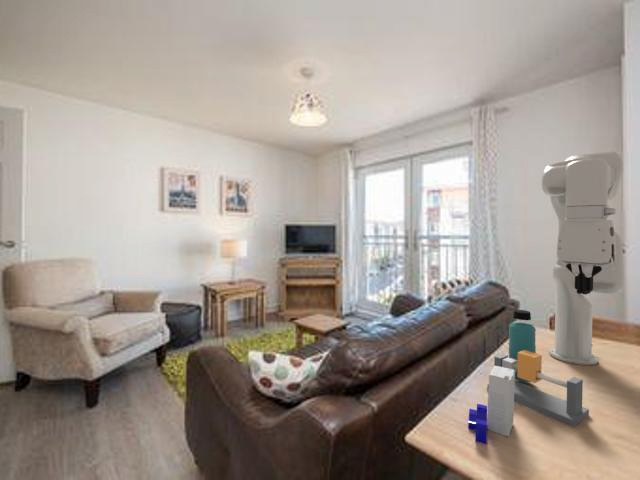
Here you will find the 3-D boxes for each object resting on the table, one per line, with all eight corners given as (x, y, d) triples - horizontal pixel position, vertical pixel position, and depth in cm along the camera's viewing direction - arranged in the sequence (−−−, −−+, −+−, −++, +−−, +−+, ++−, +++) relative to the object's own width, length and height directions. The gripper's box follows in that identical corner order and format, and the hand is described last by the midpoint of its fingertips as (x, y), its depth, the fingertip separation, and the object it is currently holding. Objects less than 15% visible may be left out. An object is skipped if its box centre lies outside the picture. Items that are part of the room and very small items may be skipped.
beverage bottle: (540, 389, 86) (541, 314, 85) (512, 387, 87) (513, 313, 87) (529, 378, 92) (530, 308, 92) (504, 376, 94) (505, 307, 93)
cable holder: (469, 419, 73) (469, 402, 73) (486, 423, 71) (487, 405, 71) (467, 440, 66) (467, 420, 66) (486, 445, 64) (486, 425, 64)
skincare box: (491, 416, 74) (492, 364, 73) (514, 424, 71) (515, 369, 71) (486, 430, 69) (486, 373, 68) (510, 438, 66) (511, 379, 66)
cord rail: (504, 382, 90) (504, 351, 90) (588, 415, 74) (589, 378, 74) (487, 390, 86) (487, 357, 85) (573, 427, 70) (574, 387, 69)
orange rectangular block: (523, 373, 83) (524, 349, 83) (541, 379, 80) (541, 354, 80) (517, 376, 82) (517, 352, 81) (534, 383, 78) (535, 357, 78)
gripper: (634, 213, 71) (632, 296, 72) (555, 215, 83) (554, 286, 84) (622, 213, 67) (619, 301, 68) (541, 215, 79) (540, 290, 80)
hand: (583, 293), depth 76 cm, fingers closed
